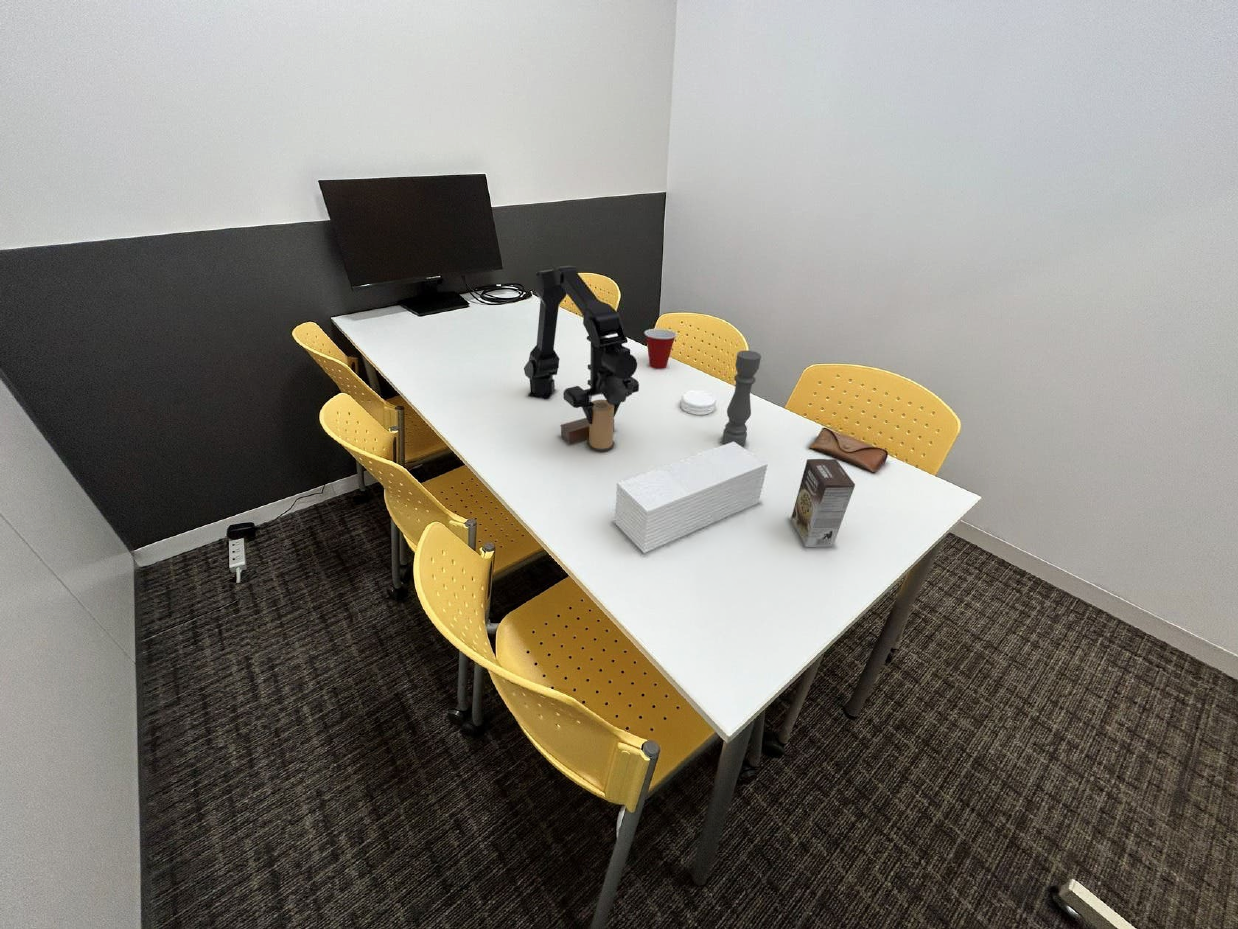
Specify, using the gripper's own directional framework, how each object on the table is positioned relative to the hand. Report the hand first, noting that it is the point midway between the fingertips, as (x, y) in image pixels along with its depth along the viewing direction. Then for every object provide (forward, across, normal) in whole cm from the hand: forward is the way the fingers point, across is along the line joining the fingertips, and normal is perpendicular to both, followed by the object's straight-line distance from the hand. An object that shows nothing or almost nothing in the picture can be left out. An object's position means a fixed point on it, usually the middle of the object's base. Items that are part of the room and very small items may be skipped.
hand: (601, 420), depth 135 cm
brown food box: (+8, +20, -52) cm, 57 cm away
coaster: (+8, +36, +4) cm, 37 cm away
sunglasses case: (+8, +53, -36) cm, 65 cm away
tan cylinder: (+6, 0, +5) cm, 8 cm away
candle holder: (+8, +31, -17) cm, 36 cm away
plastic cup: (+8, +44, +34) cm, 56 cm away
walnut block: (+8, 0, +7) cm, 10 cm away
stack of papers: (+8, +2, -34) cm, 35 cm away
